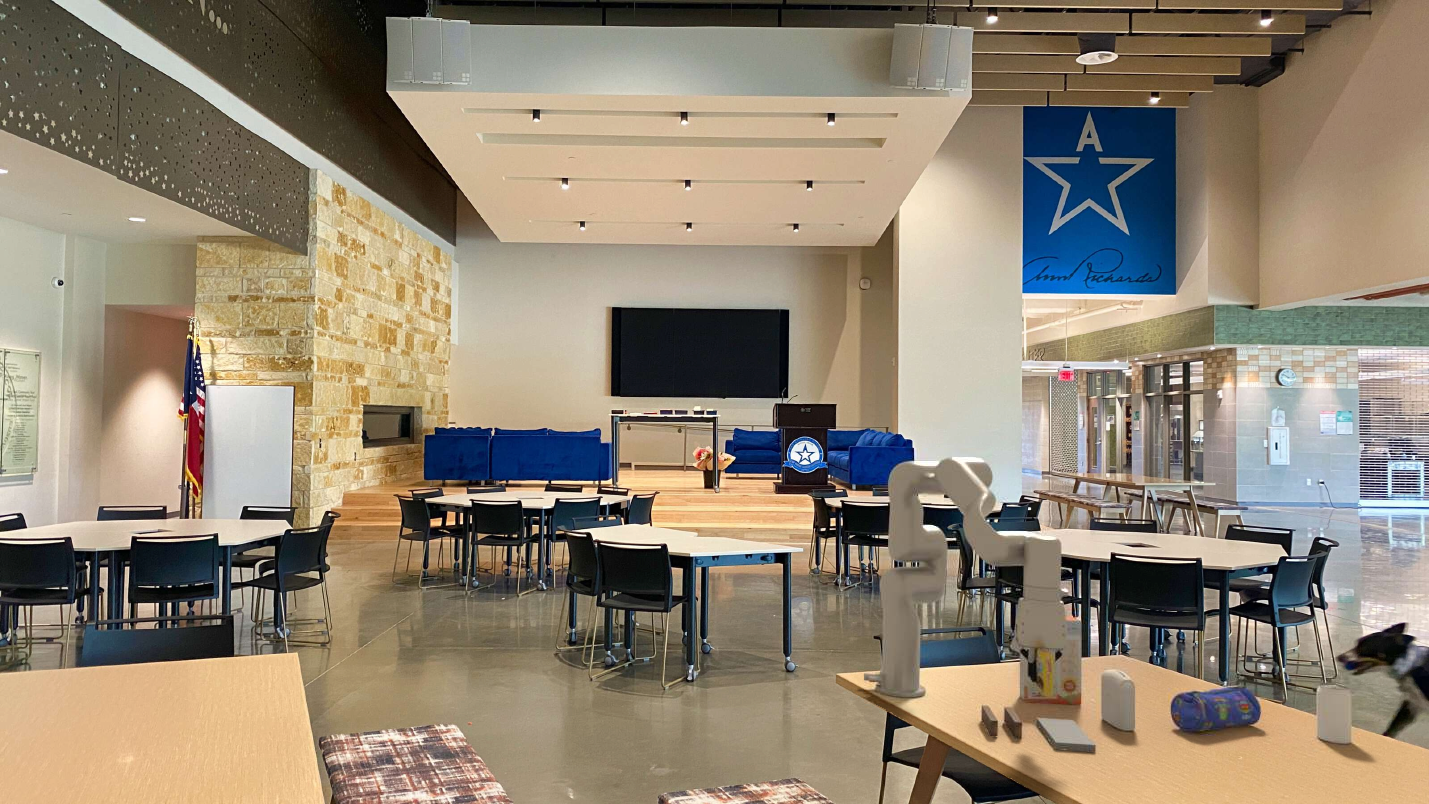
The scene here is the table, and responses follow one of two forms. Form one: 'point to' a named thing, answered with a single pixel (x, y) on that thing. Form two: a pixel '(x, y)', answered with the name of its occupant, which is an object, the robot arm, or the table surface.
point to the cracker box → (1058, 672)
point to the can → (1334, 713)
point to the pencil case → (1215, 709)
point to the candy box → (1044, 671)
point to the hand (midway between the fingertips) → (1039, 680)
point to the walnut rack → (1009, 719)
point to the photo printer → (1118, 700)
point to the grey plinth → (1065, 734)
